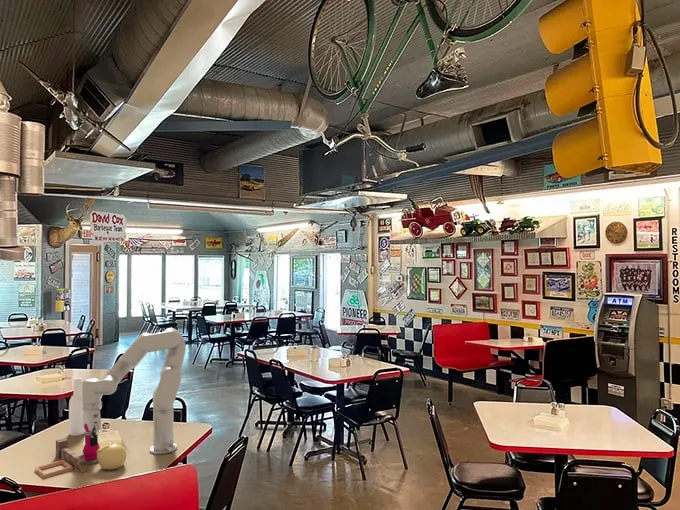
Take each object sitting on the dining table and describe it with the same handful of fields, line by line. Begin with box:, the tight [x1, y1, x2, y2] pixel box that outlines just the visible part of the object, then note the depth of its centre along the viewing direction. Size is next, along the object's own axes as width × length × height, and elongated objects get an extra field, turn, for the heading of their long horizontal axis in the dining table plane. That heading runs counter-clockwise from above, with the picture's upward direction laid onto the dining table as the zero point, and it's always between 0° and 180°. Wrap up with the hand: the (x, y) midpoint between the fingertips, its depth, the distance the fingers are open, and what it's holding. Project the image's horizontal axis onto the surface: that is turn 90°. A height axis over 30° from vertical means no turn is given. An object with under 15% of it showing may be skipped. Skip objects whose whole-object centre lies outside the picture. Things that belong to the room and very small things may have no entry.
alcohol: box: [68, 376, 85, 437], centre depth 272 cm, size 9×9×30 cm
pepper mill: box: [82, 423, 101, 462], centre depth 235 cm, size 7×7×20 cm
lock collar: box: [34, 459, 74, 479], centre depth 223 cm, size 12×12×2 cm
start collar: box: [78, 453, 99, 467], centre depth 235 cm, size 12×12×2 cm
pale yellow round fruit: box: [97, 442, 127, 470], centre depth 227 cm, size 11×12×11 cm
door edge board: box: [55, 437, 87, 474], centre depth 231 cm, size 28×4×8 cm, turn 48°
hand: (91, 443), depth 235 cm, fingers closed on pepper mill, 5 cm apart
